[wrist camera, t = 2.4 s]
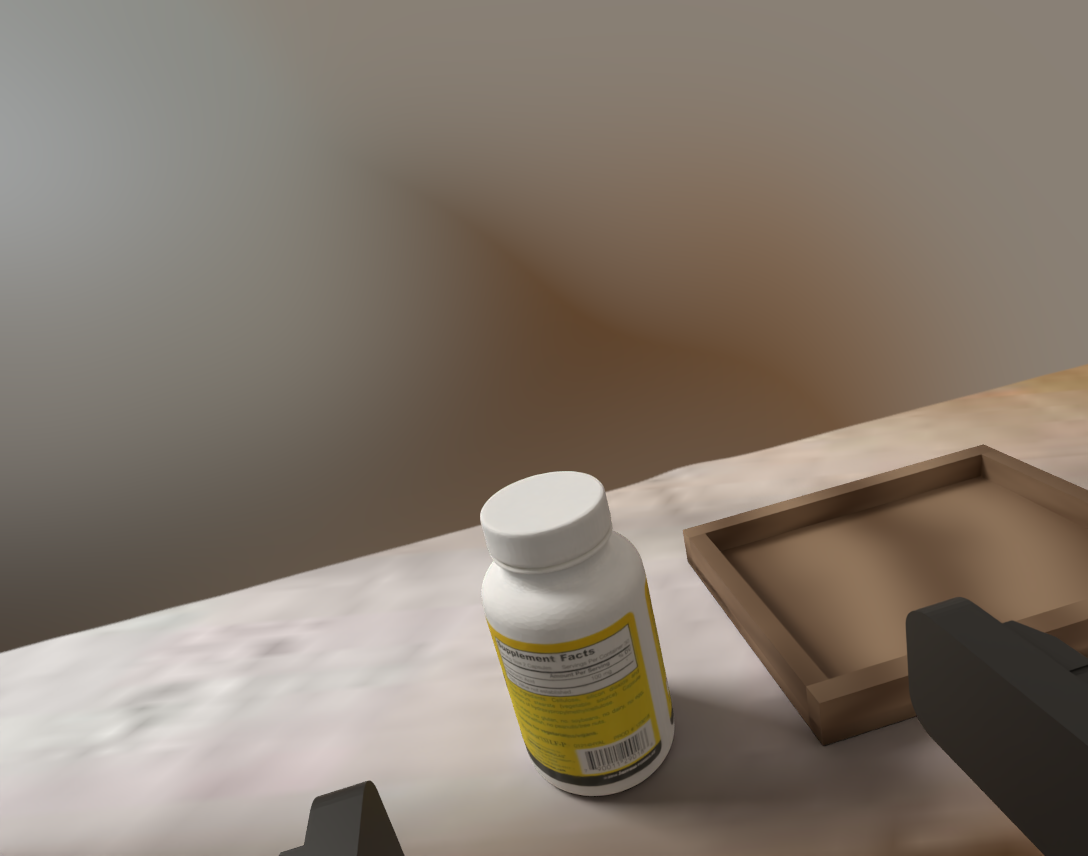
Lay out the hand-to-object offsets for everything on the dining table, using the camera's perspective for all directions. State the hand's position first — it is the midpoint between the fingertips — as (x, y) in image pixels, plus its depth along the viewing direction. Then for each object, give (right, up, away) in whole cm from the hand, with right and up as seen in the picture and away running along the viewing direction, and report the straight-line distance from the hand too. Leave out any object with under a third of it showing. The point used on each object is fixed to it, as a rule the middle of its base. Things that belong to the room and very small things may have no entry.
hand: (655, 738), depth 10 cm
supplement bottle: (+1, -7, +15) cm, 16 cm away
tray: (+14, -2, +19) cm, 24 cm away
